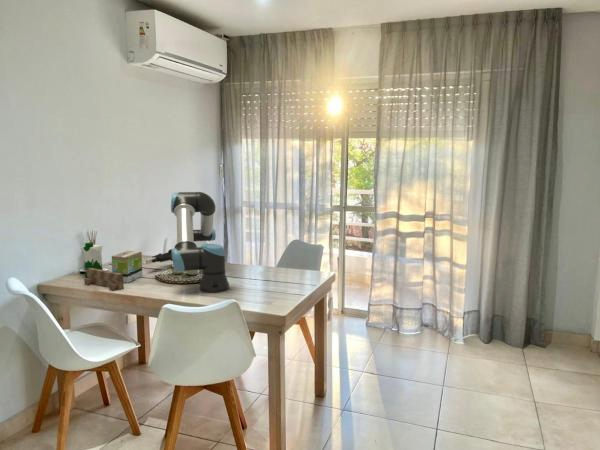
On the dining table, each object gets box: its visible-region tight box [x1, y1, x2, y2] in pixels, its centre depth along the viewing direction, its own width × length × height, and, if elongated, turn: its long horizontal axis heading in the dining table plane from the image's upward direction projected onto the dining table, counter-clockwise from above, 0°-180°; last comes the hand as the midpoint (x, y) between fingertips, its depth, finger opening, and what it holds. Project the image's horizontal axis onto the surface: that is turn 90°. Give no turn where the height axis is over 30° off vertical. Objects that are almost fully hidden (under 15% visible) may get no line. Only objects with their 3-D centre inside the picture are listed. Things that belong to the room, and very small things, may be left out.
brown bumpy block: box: [83, 268, 125, 292], centre depth 250 cm, size 26×5×8 cm, turn 60°
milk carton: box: [81, 242, 104, 279], centre depth 269 cm, size 9×9×20 cm
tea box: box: [111, 250, 143, 284], centre depth 264 cm, size 15×10×15 cm, turn 168°
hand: (146, 261), depth 276 cm, fingers closed
